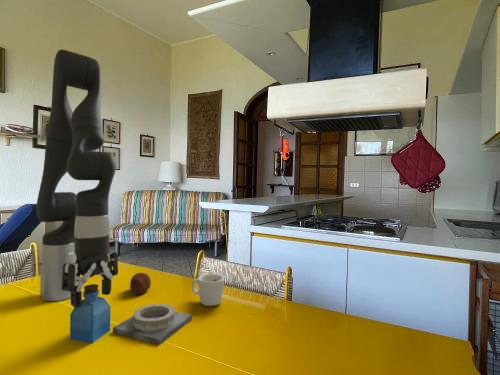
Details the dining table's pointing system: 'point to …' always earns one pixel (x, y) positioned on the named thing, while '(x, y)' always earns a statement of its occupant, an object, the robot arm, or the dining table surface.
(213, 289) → the cup
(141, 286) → the potato
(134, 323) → the ring block
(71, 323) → the perfume bottle
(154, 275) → the dining table surface
